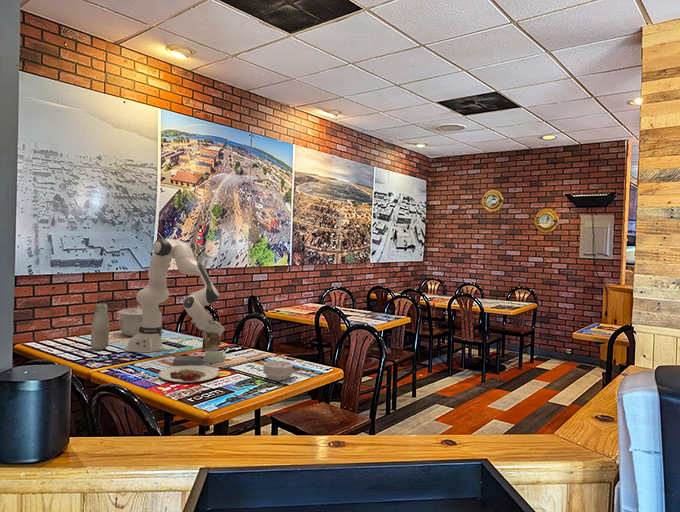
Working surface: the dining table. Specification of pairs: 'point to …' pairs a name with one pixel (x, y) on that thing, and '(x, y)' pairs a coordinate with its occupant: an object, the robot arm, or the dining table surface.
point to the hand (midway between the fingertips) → (216, 334)
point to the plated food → (188, 373)
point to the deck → (186, 360)
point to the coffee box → (208, 342)
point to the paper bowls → (278, 370)
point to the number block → (215, 339)
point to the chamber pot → (130, 320)
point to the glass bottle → (100, 327)
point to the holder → (214, 357)
